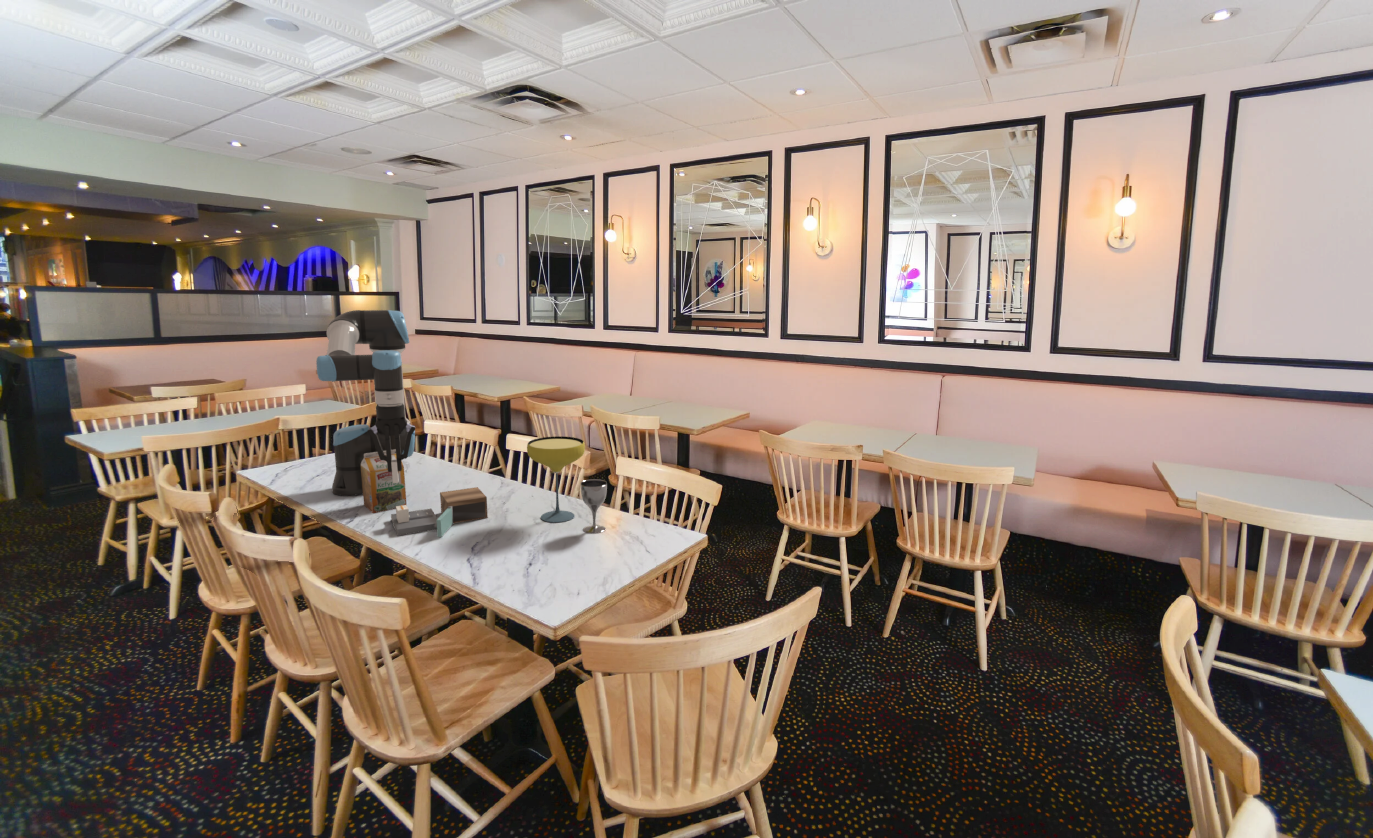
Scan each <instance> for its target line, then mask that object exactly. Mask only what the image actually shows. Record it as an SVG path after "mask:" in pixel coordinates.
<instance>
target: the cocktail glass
mask: <svg viewBox="0 0 1373 838" xmlns="http://www.w3.org/2000/svg"><path fill="white" fill-rule="evenodd" d="M585 445H586V444H585V442H584V440H583V439H581V438H578V437H575V436H574V437H572V436H546V437H545V436H544V437H539V438H534V439H531V440H530V441H528V442H527V444H526V450H527V451H526V452H527V455H528V457H529V458H530V459H531V460H533V461H534V462H536V463H538V464H541V465H543V466H545V467H547V468H549V469H550V470H551V472H552V473H554V474H555V491H556V492H555V499H556V500H555V510H550V511H547V512H544V513H543V514H542V515H541V516H540V519H541V520H542V521H543V522H547V523H551V524H552V523H553V524H554V523H555V524H556V523H557V524H558V523H559V524H560V523H566V522H569V521H572V520H573V519H574V518H575V514H574V513H573V512H572V511H569V510H560V503H559V502H560V501H559V473H560V472H562V471H563V469H564V467H566V466H569V465H571V464H572V463H574V462H576V461H577V460H580V458H581V457H582V456H584V454H585V451H586V450H585V449H586V446H585Z"/></svg>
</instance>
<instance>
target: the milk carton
mask: <svg viewBox="0 0 1373 838" xmlns="http://www.w3.org/2000/svg"><path fill="white" fill-rule="evenodd" d="M383 452H384V455H386V451H383ZM391 456H392V460H396V449H395V450H391ZM401 462H402V470H401V471H398V478H399V482H398V483H393V478H392V472H388V468H387V462H386V461H384V460H380V458H379V455H378V452H373V453H366V454H364V459H363V460H362V462H361V475H362V487H363V494H362V496H363V497H362V498H363V499H362V500H363V506H365V507H366V508H367V510H369V512H371V513H372V514H376V513H384V512H386V511H393V510H396V506H401V505H407V494H406V492H407V491H406V479H405V476H406V475H405V467H404V466H405V465H404V463H403V460H402V461H401Z"/></svg>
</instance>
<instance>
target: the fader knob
mask: <svg viewBox="0 0 1373 838" xmlns="http://www.w3.org/2000/svg"><path fill="white" fill-rule="evenodd" d="M395 512H396V513H395V514H396V516H397V521H398V523H403V522H409V512H410V511H409V507H408V506H407V505H401V506H396V509H395Z"/></svg>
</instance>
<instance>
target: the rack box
mask: <svg viewBox="0 0 1373 838" xmlns="http://www.w3.org/2000/svg"><path fill="white" fill-rule="evenodd" d="M439 495H440V496H439V497H440V512H441V515H442V514H443V513H444V512H445V510H446V509H447V508H448V506H452V509H453V524H457V523H458V524H459V523H463V522H469V521H475V520H477V521H478V520H482V519H487V518H488V516H489V515H488V497H487V496H486V494H484V492H483V491H482V490H481V489H480V488H479V487H477V486H475V487H469V488H462V489H455V490H447V491H440V492H439Z"/></svg>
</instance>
